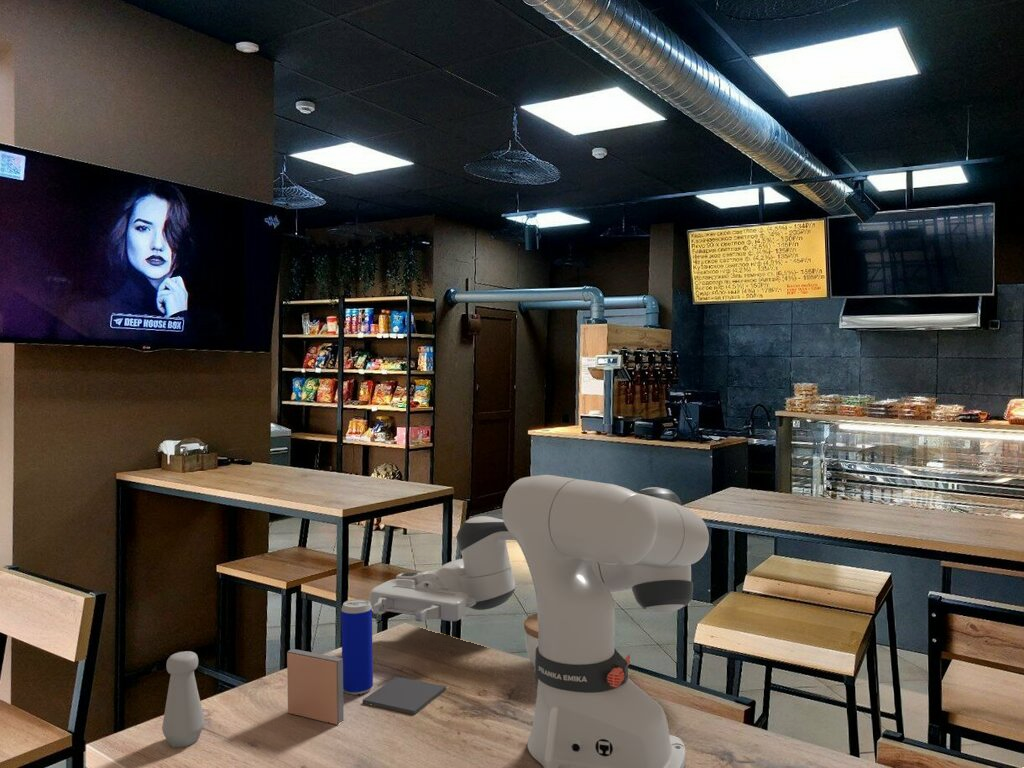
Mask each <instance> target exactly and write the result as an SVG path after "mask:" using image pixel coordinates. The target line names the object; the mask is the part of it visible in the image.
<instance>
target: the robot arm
mask: <svg viewBox="0 0 1024 768" xmlns="http://www.w3.org/2000/svg"><path fill="white" fill-rule="evenodd" d="M501 511H502V512H501V513H502V517H492V516H487V515H486V516H485V515H480V516H475V517H472V518H469V519H466V520H465V521H463V523H462V524H461V526H460V528H459V529H458V531H457V533H456V541H457V545H458V549H459V552H460V553H461V558H458V559H455V560H452V561H449V562H447V563H444V564H442V565H441V566H440V567H437V568H435V569H432V570H430V571H429V570H425V571H422V572H407V573H406V572H404V573H401V572H400V573H399V574H397V575H396V576H395V578H394V579H389V580H387V581H385V582H382V583H380V584H378V585H376V586H374V587H372V589H371V590H370V592H369V601H370V603H371V606H372V615H373V614H374V615H379V616H381V615H383V614H385V612H391V613H397V614H404V615H410V616H415V618H414V619H415V621H416V622H421V623H422V622H425V621H426V620H427V621H429V620H440V621H441V620H442V621H448V622H457V621H459V620H461V619H462V618H464V617H465V616H466V615H467V614H468V613H469V608H470V609H472V610H475V611H476V610H477V611H483V610H484V611H485V610H491V609H493V608H496V607H498V606H500V605H504V603H507V601H508V600H509V599H510V598H511V597H512V596H513V594H514V592H515V591H516V584H515V577H514V574H513V573H514V571H513V568H512V566H511V561H510V560H511V559H510V556H509V551H508V544H507V541H516V542H517V544H518V546H519V548H520V549H521V553H522V554H523V556H524V558H525V562H526V564H527V567H528V569H529V570H528V571H529V573H530V576H531V581H532V584H533V587H534V590H535V591H534V592H535V597H536V598H535V599H536V610H537V611H536V614H537V615H538V647H537V648H536V653H535V666H534V677H535V685H536V686H537V687H536V699H535V706H534V707H535V709H534V714H533V721H532V725H531V729H530V733H529V736H528V741H527V750H528V752H529V753H530V755H531V756H532V757H533V758H534V759H535V760H536V761H537V762H538V763H540V764H541V765H542V767H543V768H685V765H686V760H687V754H686V753H687V752H686V747H685V744H684V742H683V740H682V738H681V737H680V738H679V737H677V736H675V735H672V734H670V730H669V724H668V723H669V722H668V718H667V715H666V712H665V711H664V709H663V707H662V706H661V704H659V703H658V702H657V701H655V699H654V698H652V697H651V696H650V695H649V694H648V693H646V691H644V690H643V689H641V688H640V687H639V686H638V685H637V684H636V683H635V682H634V681H633V680H632V679H631V678H629V665H630V664H631V661H630V660H631V658H630V657H631V655H630V654H627V655H626V657H625V658H624V656H622V655H621V654H620V653H619V652H618V651H617V649H616V648H615V646H616V645H615V641H616V640H615V600H614V597H613V594H612V593H616V592H617V593H618V592H622V591H629V590H631V591H632V594H633V596H634V598H635V601H636V603H637V604H638V605H639V606H640V607H641V608H642V609H644V610H647V611H651V612H652V613H659V614H670V613H673V612H677V611H678V610H681V609H682V608H685V607H687V606H688V605H689V604H690V603H691V601H692V600H693V594H694V582H693V581H692V565H694V564H695V563H698V562H699V561H700V560H701V559H702V558H703V557H704V555H705V554H706V552H707V550H708V547H709V543H710V534H709V530H708V526H707V524H706V523H705V521H704V520H703V519H702V518H701V516H699V514H697V513H696V512H695V511H693V510H691V509H689V508H688V507H686V506H683V505H682V502H681V500H680V497H679V496H678V495H677V494H676V493H675V492H674V491H672V490H671V489H668V488H662V487H658V486H657V487H646V488H643V489H640V490H637V491H633V490H631V489H629V488H627V487H624V486H620V485H617V484H614V483H608V482H601V481H594V480H593V481H592V480H586V479H579V478H572V477H566V476H558V475H551V474H540V475H533V476H532V475H531V476H525V477H520V478H518V480H516V481H515V482H513V483H512V484H511V485H510V486H509V488H508V490H507V492H506V493H505V496H504V497H503V502H502V509H501Z"/></svg>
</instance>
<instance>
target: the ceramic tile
mask: <svg viewBox="0 0 1024 768" xmlns="http://www.w3.org/2000/svg"><path fill="white" fill-rule="evenodd" d="M286 665H287V667H286V668H287V713H288V714H291V715H296V716H301V717H305V718H308V719H312V720H317V721H320V722H325V723H328V722H329V723H328V724H333V725H337V724H339V723H340V722H342V721H344V720H345V719H344V690H343V658H342V657H338V656H332V655H326V654H322V653H321V654H320V653H317V652H316V653H315V652H311V651H305V650H301V649H295V648H291V649H289V650H288V651H287V653H286ZM342 723H343V722H342Z"/></svg>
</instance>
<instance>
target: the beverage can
mask: <svg viewBox="0 0 1024 768" xmlns="http://www.w3.org/2000/svg"><path fill="white" fill-rule="evenodd" d="M340 612H341V614H340V615H341V617H340V618H341V658H343V692H344V693H346V694H347V695H350V694H351V696H358V694H360V695H364V694H367V693H368V692H370V690H371V689H372V688H373V685H374V679H373V678H374V677H373V675H374V672H373V671H374V664H373V662H374V661H373V659H374V658H373V609H372V606H371V603H370V599H369V600H368V599H366V598H365V599H364V598H353V599H349V600H348V599H347V600H346V601H344V602H343V604H342V606H341V610H340ZM363 693H364V694H363Z"/></svg>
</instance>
